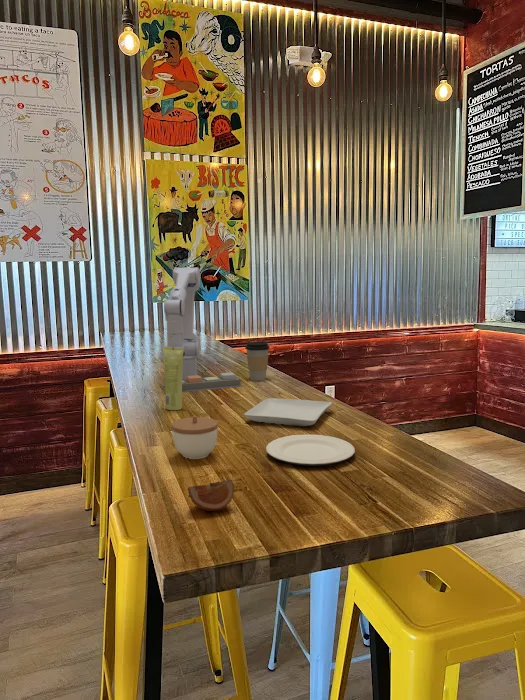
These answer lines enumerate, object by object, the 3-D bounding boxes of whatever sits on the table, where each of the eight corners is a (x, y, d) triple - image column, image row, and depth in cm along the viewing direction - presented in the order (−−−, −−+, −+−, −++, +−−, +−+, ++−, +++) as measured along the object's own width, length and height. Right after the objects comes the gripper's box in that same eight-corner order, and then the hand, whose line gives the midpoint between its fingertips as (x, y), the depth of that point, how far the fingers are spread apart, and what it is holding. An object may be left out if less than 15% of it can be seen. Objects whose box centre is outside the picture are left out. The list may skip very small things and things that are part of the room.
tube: (182, 406, 173) (180, 345, 170) (185, 409, 169) (183, 347, 166) (164, 407, 171) (162, 346, 168) (167, 411, 167) (165, 348, 164)
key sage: (203, 383, 200) (203, 377, 200) (215, 382, 202) (215, 376, 201) (207, 385, 196) (206, 380, 195) (219, 384, 197) (219, 379, 197)
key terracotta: (186, 381, 197) (186, 376, 197) (198, 380, 199) (198, 375, 199) (189, 384, 193) (189, 378, 193) (202, 382, 195) (202, 377, 195)
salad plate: (242, 424, 153) (242, 413, 153) (267, 406, 173) (267, 396, 172) (315, 432, 146) (315, 419, 146) (333, 412, 166) (333, 401, 165)
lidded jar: (177, 447, 133) (176, 410, 132) (220, 447, 133) (220, 410, 131) (168, 462, 122) (167, 422, 121) (215, 463, 122) (214, 422, 121)
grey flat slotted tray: (162, 388, 198) (162, 380, 198) (232, 382, 208) (232, 374, 208) (169, 395, 187) (169, 386, 187) (243, 389, 197) (243, 380, 197)
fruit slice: (192, 519, 95) (191, 492, 94) (184, 504, 101) (183, 479, 100) (238, 512, 98) (237, 485, 97) (227, 497, 104) (226, 472, 103)
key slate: (220, 378, 202) (219, 373, 202) (231, 377, 204) (231, 372, 204) (223, 381, 198) (223, 375, 198) (235, 380, 200) (235, 374, 199)
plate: (332, 478, 114) (332, 469, 113) (248, 460, 124) (248, 452, 124) (368, 450, 131) (368, 442, 131) (292, 436, 142) (292, 429, 142)
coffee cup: (270, 379, 214) (270, 341, 212) (268, 384, 205) (268, 345, 203) (247, 379, 215) (246, 341, 213) (243, 384, 206) (243, 345, 204)
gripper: (191, 335, 186) (192, 374, 188) (181, 330, 199) (182, 367, 201) (171, 336, 183) (172, 375, 185) (162, 331, 197) (163, 368, 199)
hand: (176, 371), depth 193 cm, fingers closed
